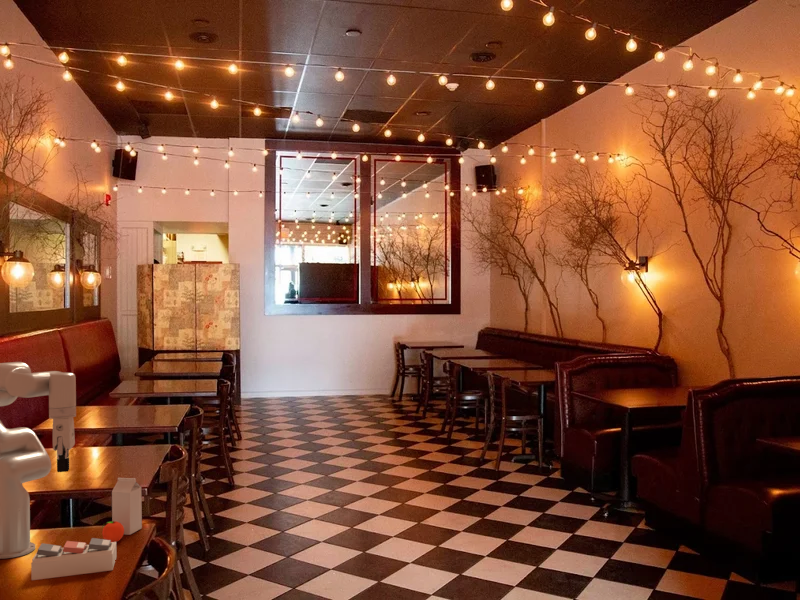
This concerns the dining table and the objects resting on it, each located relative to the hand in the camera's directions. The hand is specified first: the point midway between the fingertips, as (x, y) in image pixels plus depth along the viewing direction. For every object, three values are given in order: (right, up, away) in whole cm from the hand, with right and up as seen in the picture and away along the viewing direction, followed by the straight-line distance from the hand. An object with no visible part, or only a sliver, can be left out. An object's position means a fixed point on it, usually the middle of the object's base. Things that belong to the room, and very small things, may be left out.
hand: (63, 471), depth 206 cm
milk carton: (+8, -30, +30) cm, 43 cm away
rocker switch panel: (+6, -29, -3) cm, 30 cm away
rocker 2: (+13, -22, -3) cm, 25 cm away
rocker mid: (+6, -22, -5) cm, 23 cm away
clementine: (+7, -30, +19) cm, 36 cm away
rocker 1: (-1, -22, -7) cm, 23 cm away
